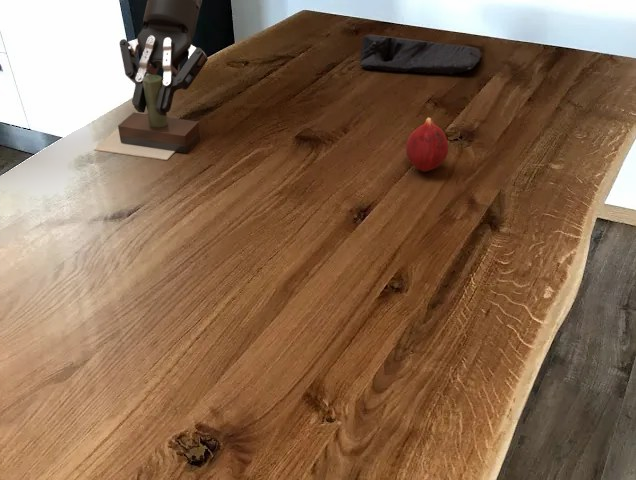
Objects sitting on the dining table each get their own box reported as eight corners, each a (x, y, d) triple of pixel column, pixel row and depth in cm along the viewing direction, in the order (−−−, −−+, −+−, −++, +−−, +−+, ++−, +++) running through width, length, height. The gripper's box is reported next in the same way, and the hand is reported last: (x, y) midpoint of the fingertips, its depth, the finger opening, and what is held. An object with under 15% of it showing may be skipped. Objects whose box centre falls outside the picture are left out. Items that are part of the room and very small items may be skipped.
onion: (453, 174, 104) (460, 121, 99) (422, 185, 102) (428, 131, 96) (426, 158, 108) (432, 106, 103) (396, 168, 105) (400, 116, 100)
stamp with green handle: (120, 142, 111) (109, 80, 105) (136, 129, 115) (126, 67, 109) (186, 153, 109) (179, 89, 102) (200, 138, 112) (194, 76, 106)
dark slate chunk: (472, 83, 129) (475, 57, 126) (352, 69, 134) (353, 43, 131) (484, 54, 140) (488, 28, 137) (373, 42, 146) (374, 17, 143)
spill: (94, 150, 110) (93, 149, 110) (125, 122, 117) (125, 121, 117) (167, 160, 107) (167, 159, 107) (194, 131, 115) (194, 130, 115)
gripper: (120, -18, 106) (94, 96, 105) (210, -10, 103) (184, 108, 102) (142, 9, 113) (118, 116, 112) (227, 17, 110) (203, 127, 109)
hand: (150, 111), depth 107 cm, fingers closed on stamp with green handle, 3 cm apart
